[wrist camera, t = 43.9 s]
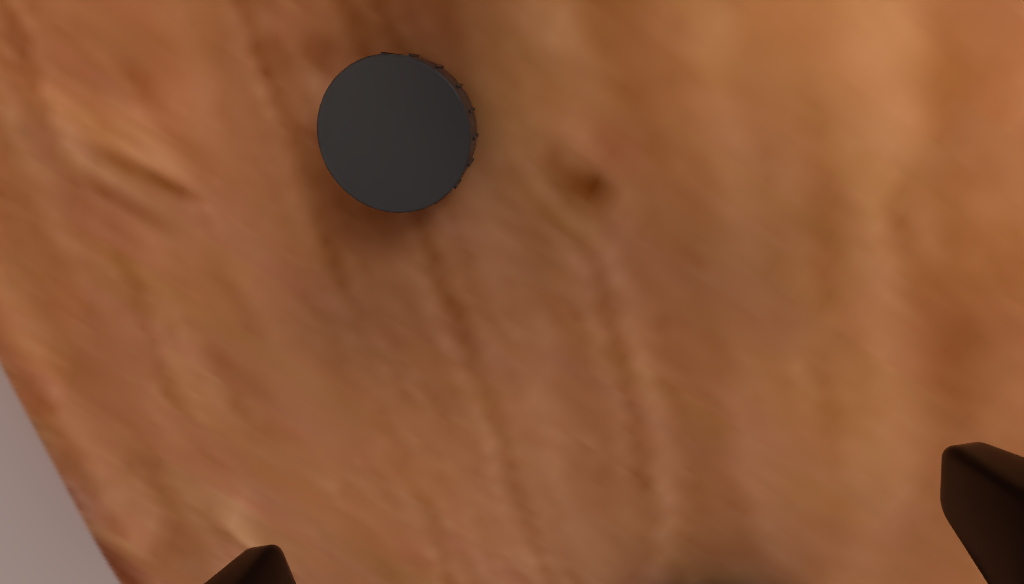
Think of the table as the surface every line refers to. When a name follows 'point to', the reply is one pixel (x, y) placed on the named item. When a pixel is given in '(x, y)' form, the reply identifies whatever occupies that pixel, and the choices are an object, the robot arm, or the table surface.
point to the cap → (396, 131)
